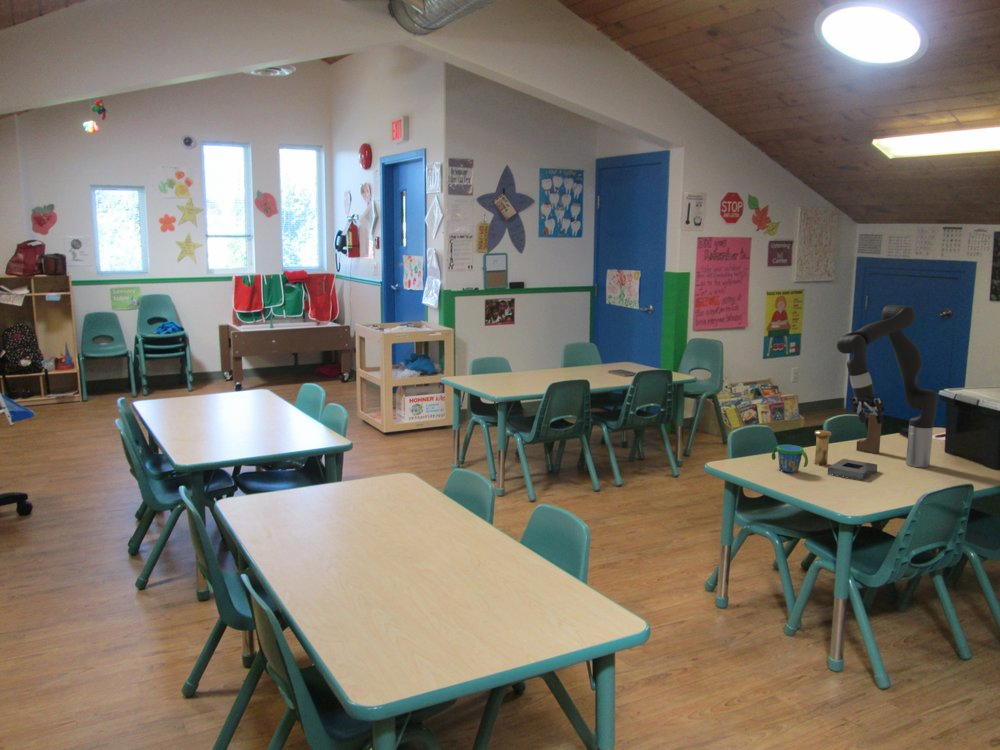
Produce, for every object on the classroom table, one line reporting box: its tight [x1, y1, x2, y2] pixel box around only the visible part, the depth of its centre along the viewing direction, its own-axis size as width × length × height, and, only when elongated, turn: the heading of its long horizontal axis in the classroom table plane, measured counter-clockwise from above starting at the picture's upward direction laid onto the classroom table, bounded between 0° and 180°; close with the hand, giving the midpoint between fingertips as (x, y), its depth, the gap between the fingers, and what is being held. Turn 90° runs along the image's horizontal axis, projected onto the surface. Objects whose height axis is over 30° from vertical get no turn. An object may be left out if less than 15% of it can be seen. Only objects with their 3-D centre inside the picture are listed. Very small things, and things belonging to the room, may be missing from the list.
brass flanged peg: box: [814, 429, 832, 466], centre depth 365 cm, size 7×7×14 cm
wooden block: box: [855, 412, 883, 455], centre depth 386 cm, size 9×4×18 cm, turn 47°
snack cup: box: [771, 444, 809, 473], centre depth 354 cm, size 16×10×10 cm
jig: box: [827, 458, 878, 481], centre depth 352 cm, size 18×14×3 cm
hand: (872, 422), depth 333 cm, fingers open, 8 cm apart
